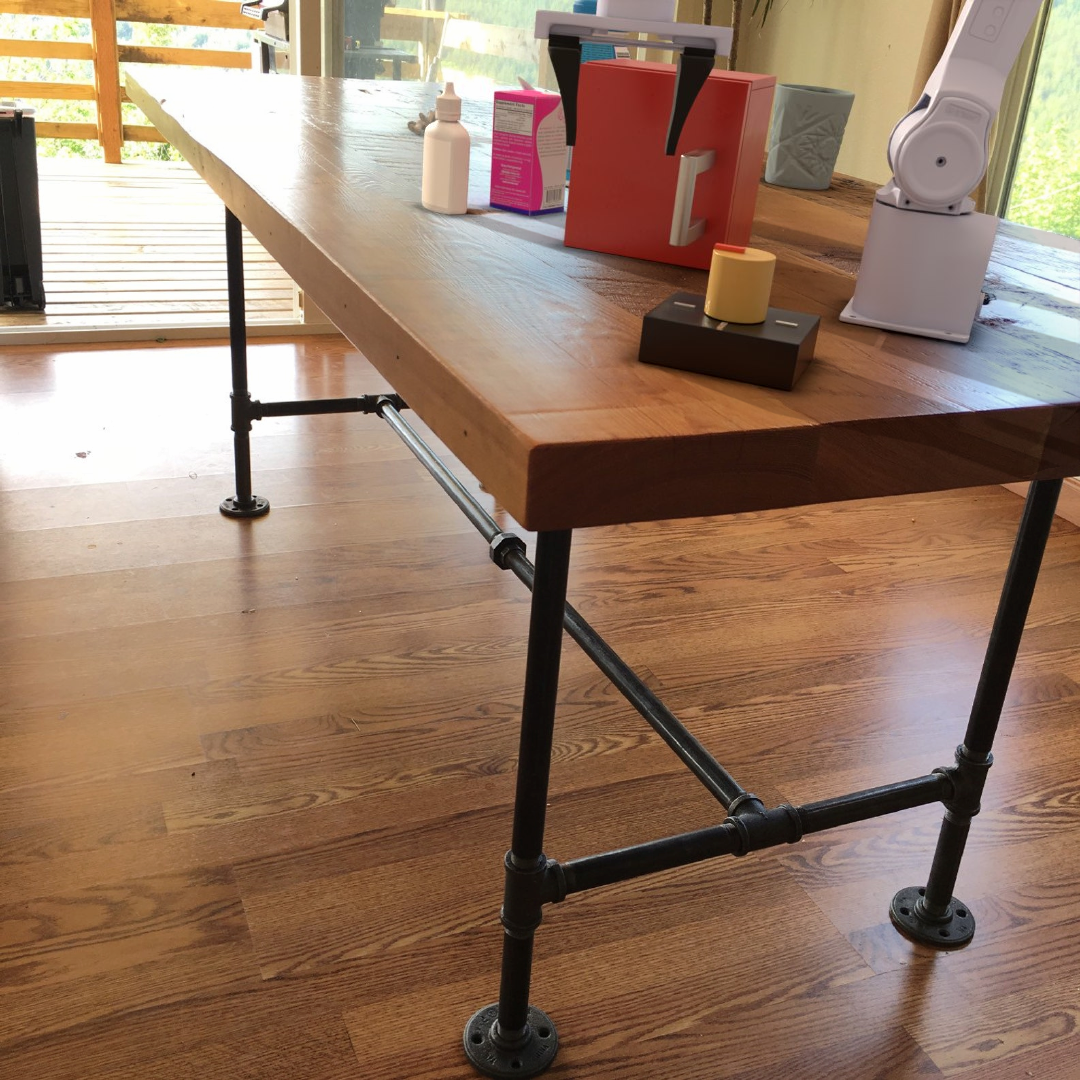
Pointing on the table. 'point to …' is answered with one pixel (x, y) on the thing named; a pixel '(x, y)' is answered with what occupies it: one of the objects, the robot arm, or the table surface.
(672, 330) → the panel
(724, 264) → the knob
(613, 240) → the red door with handle
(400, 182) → the table surface
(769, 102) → the cabinet
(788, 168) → the grey green vase
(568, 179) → the beverage bottle
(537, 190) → the supplement box
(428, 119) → the soldier figure
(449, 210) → the eye dropper bottle
